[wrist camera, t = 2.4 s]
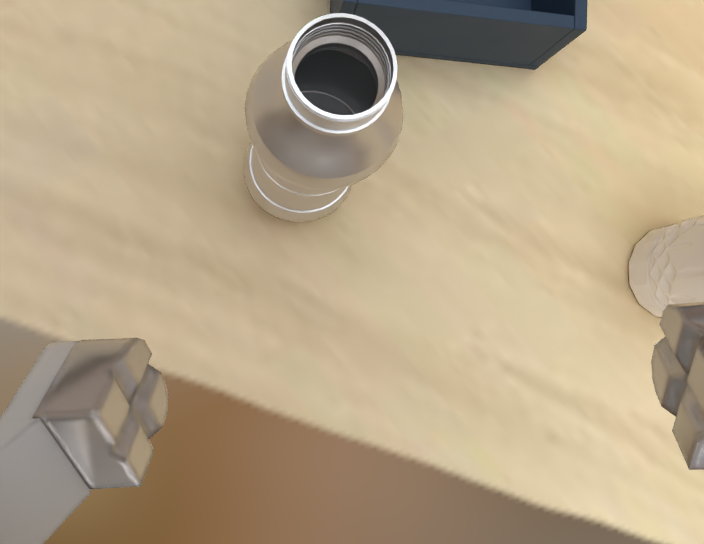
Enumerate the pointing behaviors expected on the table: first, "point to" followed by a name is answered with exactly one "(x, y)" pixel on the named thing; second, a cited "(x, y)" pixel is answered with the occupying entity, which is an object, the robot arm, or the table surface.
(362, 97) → the metal water bottle
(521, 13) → the tub
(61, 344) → the robot arm
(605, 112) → the table surface
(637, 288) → the white cup
